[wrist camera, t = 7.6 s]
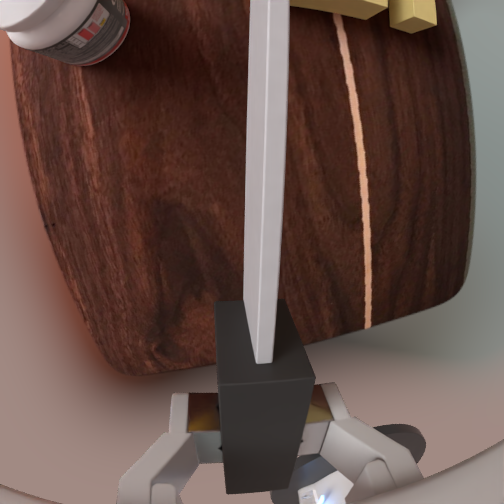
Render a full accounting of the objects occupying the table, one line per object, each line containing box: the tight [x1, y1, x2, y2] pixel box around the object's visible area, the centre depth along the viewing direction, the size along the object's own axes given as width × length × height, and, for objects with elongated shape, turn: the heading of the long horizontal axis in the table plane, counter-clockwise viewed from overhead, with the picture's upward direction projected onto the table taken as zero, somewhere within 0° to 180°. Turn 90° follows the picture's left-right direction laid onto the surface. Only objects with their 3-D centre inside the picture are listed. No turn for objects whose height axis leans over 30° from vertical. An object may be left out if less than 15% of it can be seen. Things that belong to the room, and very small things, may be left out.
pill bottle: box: [0, 0, 130, 66], centre depth 11 cm, size 6×6×10 cm
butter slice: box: [389, 0, 437, 34], centre depth 16 cm, size 4×2×4 cm, turn 178°
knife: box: [214, 0, 316, 494], centre depth 8 cm, size 2×15×4 cm, turn 179°
